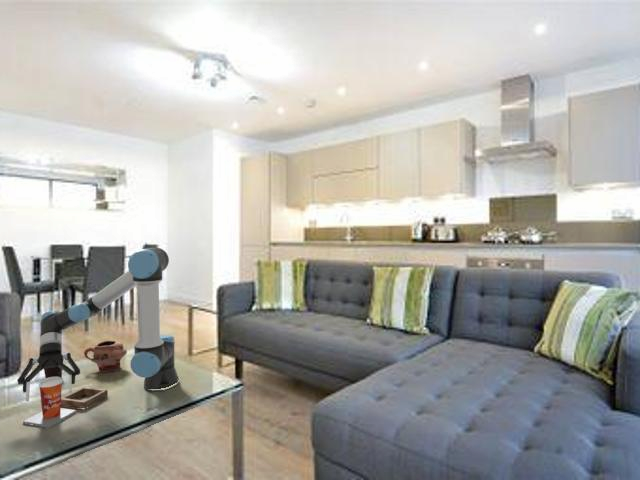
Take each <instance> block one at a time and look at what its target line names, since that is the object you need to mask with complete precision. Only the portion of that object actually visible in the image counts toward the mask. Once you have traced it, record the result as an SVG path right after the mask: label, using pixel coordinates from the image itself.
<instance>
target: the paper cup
mask: <svg viewBox="0 0 640 480" xmlns="http://www.w3.org/2000/svg"><path fill="white" fill-rule="evenodd" d="M63 381H64V380H63V378H62V377H49V378H45V377H44V378H43V379H41V380H40V381H39V384H38V387H39V391H40V394H39V395H40V403H41V404H40V405H41V412H42V414H43V418H45V419H50V418H54V417H57V416H58V415H60V410H61V408H62V406H61V398H62V388H63V385H62V383H63Z"/></svg>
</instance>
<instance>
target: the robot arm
mask: <svg viewBox="0 0 640 480" xmlns="http://www.w3.org/2000/svg"><path fill="white" fill-rule="evenodd" d="M128 259H129V260H128V262H127V269H128V271H126V272H125V273H123V274H121V276H119V277H118V278H116V279H115V280H113V281H112V282H111V283H109V284H108V285H107V286H105V287H103V288H102V289H100V290H99V291H98V292H96V293H95V294H93V296H91V297H89V298H88V299H87V300H85V301H83V302H79V303H77V304H74V305H72V306H70V307H68V308H66V309H64V310H62V311H58V310H51V311H45V312H44V313H43V314H42V315H41V319H40V324H39V325H40V336H39V351H38V352H39V353H38V354H39V355H38V358H32V357H31V358H29V360H28V363H27V365H26V367H25V368H24V369H23V371H22V372H21V374H20V375H19V377H18V378H17V381H16V382H17V384H18V385H22V392H23V394H25V401H26V403H27V402H29V401H30V388H31V384H30V382H31V381H32V380H33V379H34V378H35V377H36V376H37V375H38V374H39V373H40V372H41V371H42V370H44V368H46V369H48V368H54V367H56V366H58V367H59V368H61V369H62V371H64V373H66V374H67V375H68V384H69V385H68V389H69V391H68V392H69V394H70V393H72V392H73V389H72V388H73V387H72V386H73V385H75V384H76V376H78V375H80V374H81V369H80V367H78V365H77V363H76V362H75V361H74V360H73V358H72V357H71V353H70V352H67V354H62V353H63V351H62V348H63V345H62V344H63V342H62V341H63V331H64V330H67V329H68V328H71V327H72V326H74V325H75V326H76V325H77V324H79V323H82V322H83V321H85V320H88V319H90V318H92V317H95V316H97V315H99V314H100V313H101V312H102V311H103V310H104V309H105V308H106V307H108V306H110V305H111V304H112V303H114V302H116V301H117V300H118V299H119V298H121V297H122V296H124V295H125V294H127V293H128V292H129V291H131V290H133V289H134V288H135V287H136V295H137V296H136V298H137V302H136V303H137V305H136V306H137V340H136V342H135V343H134V346H133V347H134V355H133V356H132V358H131V360H130V364H129V365H130V369H131V371H132V372H133V374H134V375H135V374H136V376H138V377H140V378H144V381H143V388H144V390H146V389H161V388H166V387H169V386H171V385H173V384H175V383H177V382H178V380H179V376H178V372H177V369H176V367H175V343H176V342H175V337H174V336H173V335H170V334H169V335H168V334H161V330H160V328H161V327H160V325H161V324H160V323H161V322H160V283H161V282H162V281H163V272H164V271H165V270H167V267H168V265H169V263H170V258H169V255H168V253H167V252H166V250H164V249H162V248H160V247H150V248H143V249H139V250H137V251H135V252H134V253H132V255H130V257H129V258H128ZM63 358H64V359H63ZM62 359H63V360H65V361H67V362H68V364H69V365H70V367H71V368H72V369H71V368H70V367H69V366H68V365H66V364H65V363H64V362H63V363H62ZM36 364H37V366H36V367H35V368H34V369H33V370H32V371H31V369H32V368H33V366H34V365H36ZM30 371H31V372H30Z"/></svg>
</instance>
